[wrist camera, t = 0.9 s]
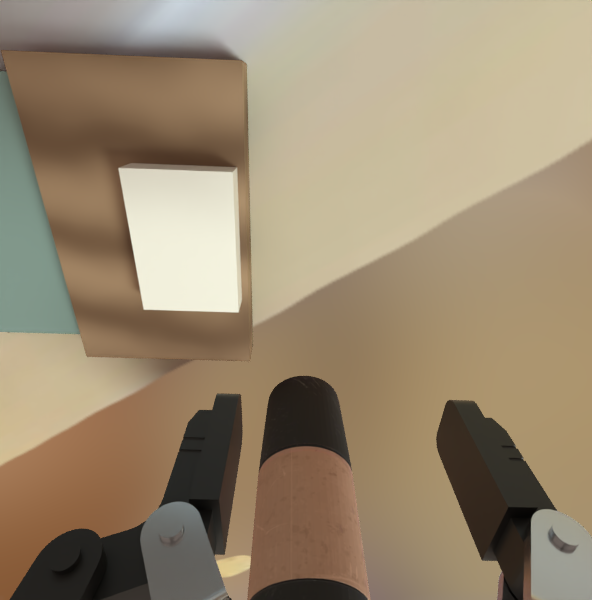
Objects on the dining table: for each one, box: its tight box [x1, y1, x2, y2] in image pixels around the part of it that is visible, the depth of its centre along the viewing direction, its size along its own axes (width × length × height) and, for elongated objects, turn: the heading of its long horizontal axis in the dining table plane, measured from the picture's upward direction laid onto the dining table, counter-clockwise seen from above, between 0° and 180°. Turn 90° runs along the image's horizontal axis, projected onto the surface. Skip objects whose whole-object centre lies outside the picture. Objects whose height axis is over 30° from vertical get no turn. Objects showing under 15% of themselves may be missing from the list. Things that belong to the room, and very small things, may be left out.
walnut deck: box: [1, 50, 253, 361], centre depth 28 cm, size 22×14×2 cm, turn 178°
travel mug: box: [248, 376, 370, 600], centre depth 29 cm, size 8×8×20 cm
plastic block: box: [118, 163, 242, 313], centre depth 26 cm, size 10×7×2 cm
